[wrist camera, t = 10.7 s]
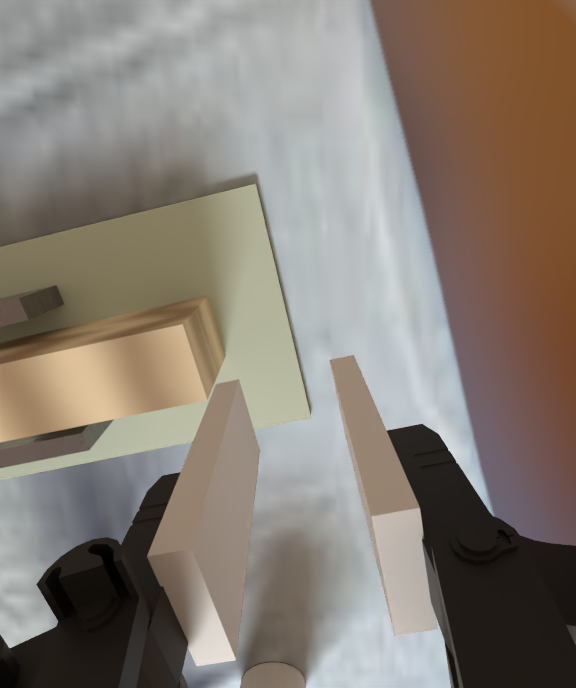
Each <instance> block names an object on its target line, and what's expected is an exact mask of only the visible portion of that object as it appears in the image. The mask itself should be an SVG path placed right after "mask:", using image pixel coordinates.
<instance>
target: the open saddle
mask: <svg viewBox="0 0 576 688" xmlns="http://www.w3.org/2000/svg"><path fill="white" fill-rule="evenodd" d="M62 305H64V302H63V300H62V297H61V295H60V293H59V290H58V288H57V285H54V286H50V287H46V288H42V289H38V290H33V291H29V292H25V293H21V294H16V295H12V296H8V297H4V298H0V327H1V326H6V325H10V324H14V323H19V322H23V321H27V320H30V319H32V318H35V317H37V316H39V315H41V314H44V313H46V312H48V311H50V310H53V309H55V308H57V307H59V306H62ZM113 420H114V419H113ZM113 420H108V421H103V422H98V423H93V424H88V425H83V426H79V427H74V428H69V429H64V430H59V431H54V432H49V433H44V434H39V435H34V436H29V437H25V438H20V439H15V440H10V441H5V442H0V468H5V467H10V466H15V465H20V464H25V463H30V462H34V461H39V460H44V459H49V458H54V457H59V456H64V455H69V454H74V453H79V452H84V451H89V450H90V449H91V448H92V446H93V445H94V444H95V443H96V441H97V440H98V439H99V438H100V436H101V435H102V434H103V433H104V431H105V430H106V429H107V428H108V427H109V425H110V424H111V423H112V422H113Z"/></svg>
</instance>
